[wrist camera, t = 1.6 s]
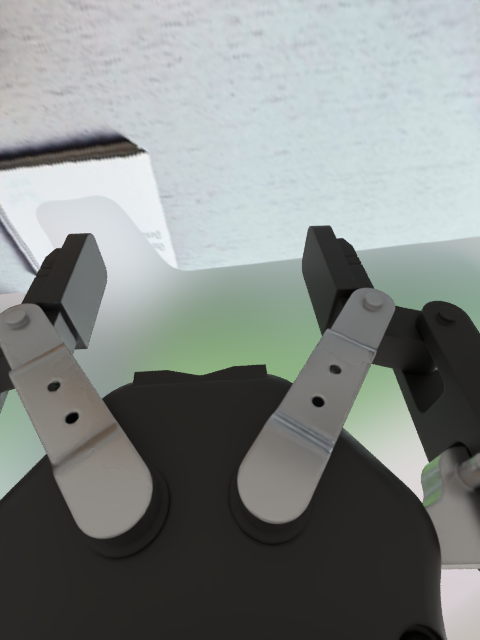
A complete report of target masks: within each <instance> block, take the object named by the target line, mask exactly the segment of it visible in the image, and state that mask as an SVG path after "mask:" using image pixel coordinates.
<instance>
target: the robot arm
mask: <svg viewBox="0 0 480 640" xmlns="http://www.w3.org/2000/svg"><path fill="white" fill-rule="evenodd" d="M40 268H41V269H39V271H38V273H37V275H36V278H35V279H34V281H33V282H32V284H31V286H30V288H29V290H28V292H27V294H26V296H25V298H24V300H23V302H22V303H21V304H19V305H16V306H13V307H10V308H8V309H7V310H5V311H3V312H2V313H1V314H0V413H1V410H2V407H3V405H4V402H5V399H6V397H7V394H8V391H9V390H12V389H16V391H17V393H18V395H19V397H20V399H21V401H22V403H23V405H24V408H25V410H26V412H27V414H28V416H29V418H30V420H31V422H32V424H33V426H34V428H35V430H36V432H37V434H38V436H39V439H40V441H41V443H42V445H43V447H44V449H45V451H46V453H47V454H46V455H45V456H44V457H43V458H42V459H41V460H40V461H39V462H38V463H37V464H36V465H35V466H34V467H33V468H32V469H31V470H30V471H29V472H28V473H27V474H26V475H25V476H24V477H23V478H22V479H21V480H20V481H19V482H18V483H17V484H16V485H15V486H14V487H13V488H12V489H11V490H10V491H9V492H8V493H7V494H6V495H5V496H4V497H3V498H2V499H1V500H0V640H447V637H446V633H445V628H444V622H443V616H442V608H441V596H440V579H441V569H478V570H479V571H480V333H479V331H478V330H477V328H476V327H475V325H474V324H473V322H472V321H471V319H470V317H469V316H468V315H467V314H466V313H465V312H464V311H463V310H462V309H461V308H459V307H457V306H455V305H453V304H451V303H448V302H443V301H432V302H429V303H427V304H426V305H425V306H424V307H423V309H422V310H421V311H418V310H413V309H407V308H403V307H398V306H395V304H394V302H393V300H392V299H391V298H390V297H389V296H388V295H387V294H385V293H384V292H382V291H380V290H377V289H374V287H373V285H372V283H371V281H370V279H369V278H368V275H367V273H366V271H365V269H364V267H363V265H361V262H360V260H359V258H358V257H357V254H356V252H355V250H354V248H353V246H352V245H351V244H349V243H348V242H347V241H346V240H345V239H343V238H338V239H336V237H335V234H334V232H333V230H332V228H331V226H329V225H328V226H310V227H309V229H308V232H307V237H306V243H305V248H304V253H303V259H302V273H303V277H304V280H305V283H306V286H307V289H308V293H309V296H310V299H311V302H312V305H313V309H314V312H315V315H316V318H317V321H318V325H319V328H320V331H321V334H322V338H321V339H320V341H319V343H318V344H317V346H316V347H315V349H314V350H313V352H312V354H311V355H310V357H309V359H308V360H307V362H306V364H305V365H304V367H303V368H302V370H301V372H300V373H299V375H298V377H297V378H296V380H295V381H294V383H291V382H289V381H288V380H286V379H283V378H281V377H277V376H274V375H270V374H267V371H266V365H248V366H233V367H230V368H226V369H223V370H220V371H216V372H212V373H209V374H205V375H193V374H187V373H181V372H175V371H169V370H162V371H146V372H135V374H134V380H133V383H129V384H126V385H124V386H122V387H119V388H118V389H116V390H114V391H112V392H111V393H109V394H108V395H106V396H105V397H104V398H102V399H101V397H100V396H99V394H98V393H97V391H96V390H95V388H94V387H93V385H92V384H91V382H90V381H89V379H88V378H87V376H86V375H85V373H84V372H83V370H82V369H81V367H80V366H79V364H78V363H77V361H76V360H75V358H74V357H73V353H74V350H75V349H87V348H88V344H89V341H90V338H91V334H92V331H93V328H94V324H95V321H96V317H97V314H98V311H99V307H100V304H101V300H102V297H103V294H104V290H105V287H106V283H107V270H106V267H105V264H104V261H103V259H102V256H101V253H100V251H99V248H98V246H97V243H96V240H95V238H94V236H93V235H92V234H91V233H84V234H69V235H68V236H67V238H66V240H65V242H64V244H63V246H62V248H56V249H55V250H54V251H52V252H51V253H50V254H49V255H48V256H47V257H46V258H45V259H44V261H43V263H42V265H41V267H40ZM371 364H375V365H380V366H384V367H388V368H393V371H394V373H395V376H396V379H397V381H398V384H399V386H400V389H401V391H402V394H403V396H404V399H405V402H406V404H407V407H408V410H409V412H410V415H411V417H412V420H413V422H414V425H415V428H416V430H417V433H418V435H419V438H420V441H421V443H422V446H423V448H424V451H425V453H426V456H427V459H428V461H429V464H427V465H426V466H425V468H424V469H423V471H422V474H421V483H422V488H423V494H424V499H423V503H422V502H421V501H420V500H419V498H418V497H417V496H416V495H415V494H414V493H413V492H412V491H411V490H410V488H408V487H407V486H406V485H405V484H404V483H403V482H402V481H401V480H400V479H399V478H398V477H396V476H395V475H394V474H393V473H392V472H391V471H390V470H389V469H388V468H387V467H386V466H384V465H383V464H382V463H381V462H380V461H379V460H378V459H377V458H376V457H375V456H374V455H373V454H371V453H370V452H369V451H368V450H367V449H366V448H365V447H364V446H363V445H362V444H360V443H359V442H358V441H357V440H356V439H355V438H354V437H353V436H352V435H351V434H350V433H349V432H347V431H346V430H345V429H344V428H343V425H344V423H345V421H346V419H347V416H348V414H349V412H350V410H351V408H352V406H353V403H354V401H355V399H356V397H357V395H358V392H359V390H360V388H361V386H362V384H363V381H364V379H365V377H366V375H367V373H368V370H369V368H370V366H371Z"/></svg>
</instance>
